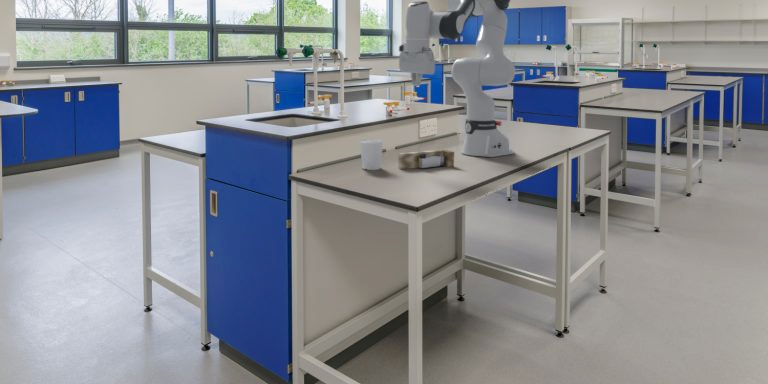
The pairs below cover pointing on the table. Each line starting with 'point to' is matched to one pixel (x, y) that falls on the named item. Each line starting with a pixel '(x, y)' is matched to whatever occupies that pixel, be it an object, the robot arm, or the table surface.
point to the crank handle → (431, 161)
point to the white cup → (371, 154)
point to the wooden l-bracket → (413, 157)
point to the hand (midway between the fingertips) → (416, 85)
